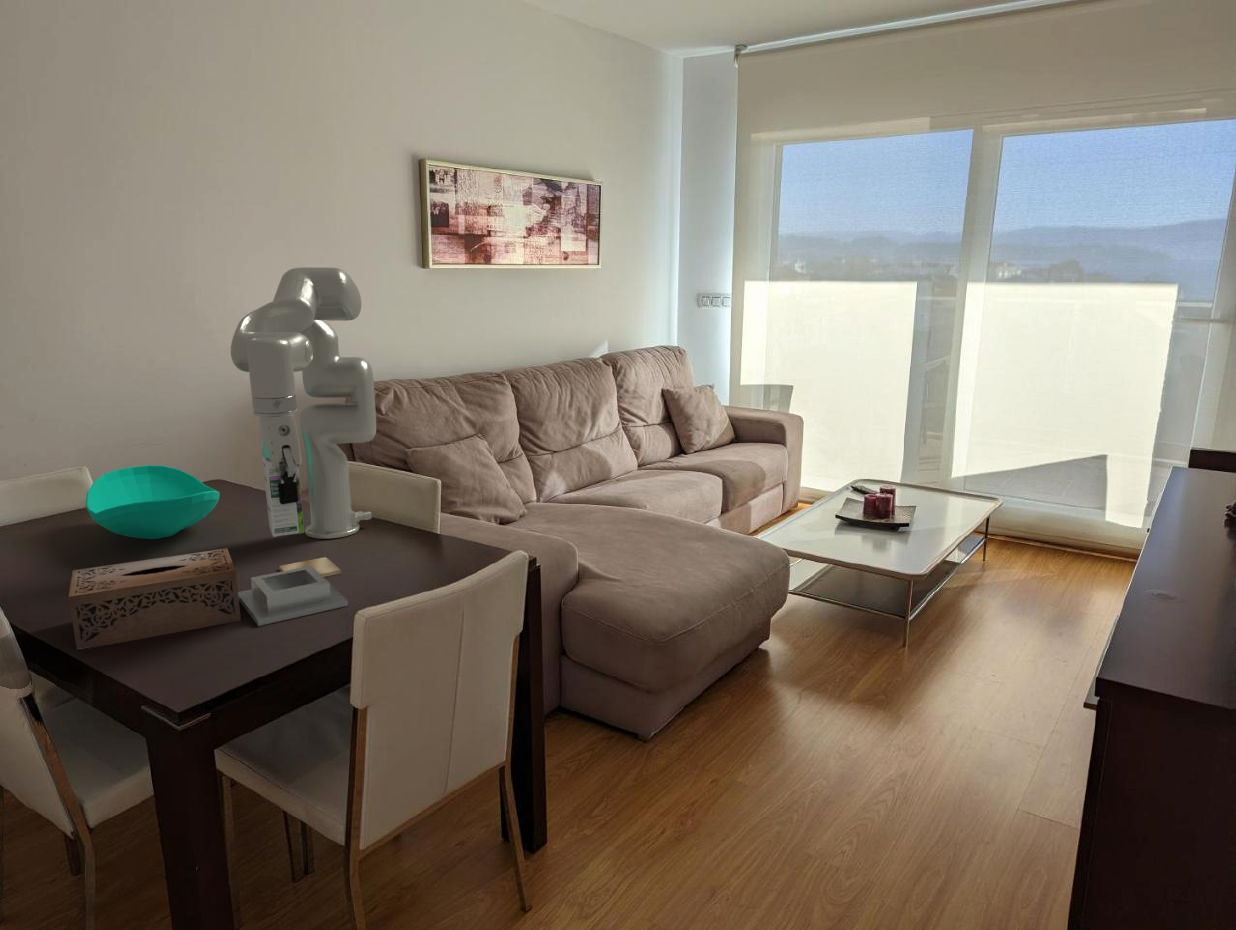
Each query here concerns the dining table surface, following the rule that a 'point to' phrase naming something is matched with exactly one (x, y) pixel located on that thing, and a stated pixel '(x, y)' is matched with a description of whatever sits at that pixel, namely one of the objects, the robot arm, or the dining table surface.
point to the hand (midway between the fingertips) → (283, 497)
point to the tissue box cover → (153, 597)
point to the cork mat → (315, 566)
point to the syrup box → (281, 515)
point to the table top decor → (149, 501)
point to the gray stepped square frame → (289, 595)
